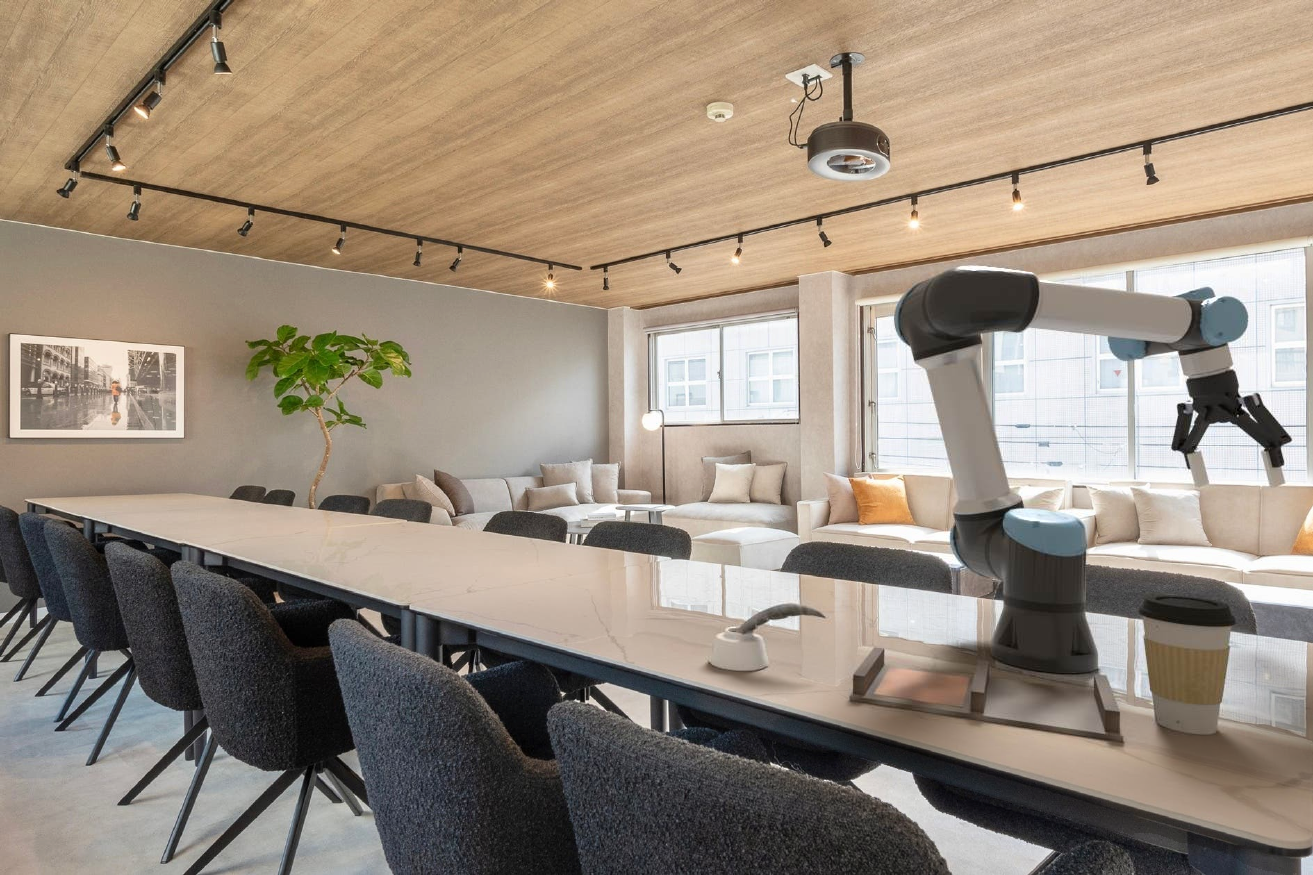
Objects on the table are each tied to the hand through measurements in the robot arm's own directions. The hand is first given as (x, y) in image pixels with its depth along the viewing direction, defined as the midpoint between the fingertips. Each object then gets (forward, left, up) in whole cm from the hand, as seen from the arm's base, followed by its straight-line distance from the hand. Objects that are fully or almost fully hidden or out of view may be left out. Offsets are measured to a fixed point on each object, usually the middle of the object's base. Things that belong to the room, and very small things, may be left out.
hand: (1238, 485), depth 140 cm
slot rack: (-40, -60, -27) cm, 77 cm away
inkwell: (-70, -59, -28) cm, 96 cm away
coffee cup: (-17, -59, -28) cm, 68 cm away
